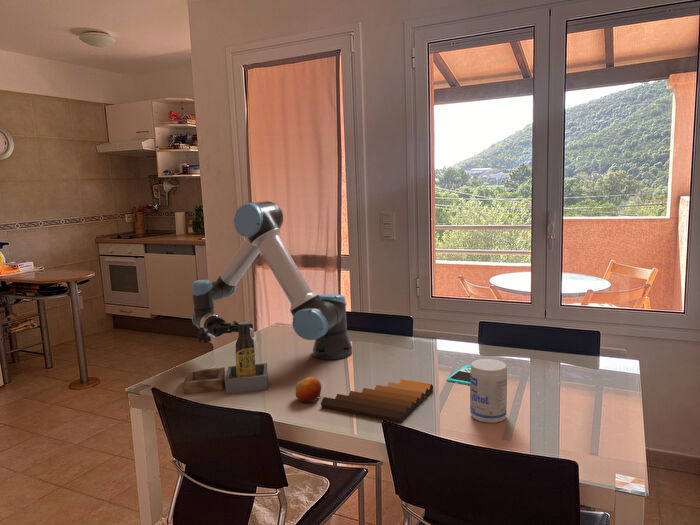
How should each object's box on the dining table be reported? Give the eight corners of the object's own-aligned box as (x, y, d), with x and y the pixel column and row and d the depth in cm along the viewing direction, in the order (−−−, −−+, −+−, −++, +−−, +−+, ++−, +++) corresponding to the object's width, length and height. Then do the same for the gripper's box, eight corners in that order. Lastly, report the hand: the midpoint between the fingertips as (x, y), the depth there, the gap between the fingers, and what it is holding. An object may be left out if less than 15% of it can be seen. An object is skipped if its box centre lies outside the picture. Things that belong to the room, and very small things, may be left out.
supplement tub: (464, 418, 143) (463, 365, 141) (480, 406, 150) (479, 356, 148) (498, 427, 137) (497, 372, 135) (513, 414, 144) (513, 362, 142)
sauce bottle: (239, 386, 171) (235, 326, 168) (234, 380, 177) (230, 322, 174) (259, 382, 174) (255, 323, 171) (253, 376, 180) (249, 319, 177)
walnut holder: (225, 377, 183) (224, 367, 183) (222, 389, 172) (221, 379, 171) (189, 380, 182) (188, 370, 181) (184, 393, 170) (183, 383, 169)
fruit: (324, 401, 155) (309, 378, 155) (302, 413, 157) (288, 390, 157) (330, 390, 163) (316, 368, 163) (310, 402, 165) (296, 380, 165)
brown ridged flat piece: (321, 410, 154) (399, 426, 141) (320, 399, 153) (399, 414, 141) (361, 380, 175) (433, 392, 163) (361, 371, 175) (433, 381, 162)
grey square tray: (267, 375, 183) (266, 362, 182) (267, 389, 170) (266, 376, 169) (229, 379, 181) (228, 366, 180) (226, 393, 168) (225, 380, 168)
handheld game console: (494, 372, 177) (494, 368, 177) (476, 388, 164) (476, 383, 164) (465, 367, 183) (465, 363, 183) (446, 382, 170) (446, 378, 170)
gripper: (245, 328, 206) (268, 340, 188) (180, 341, 193) (199, 355, 175) (243, 309, 205) (267, 320, 187) (178, 321, 191) (197, 333, 174)
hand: (234, 337), depth 181 cm, fingers open, 13 cm apart
